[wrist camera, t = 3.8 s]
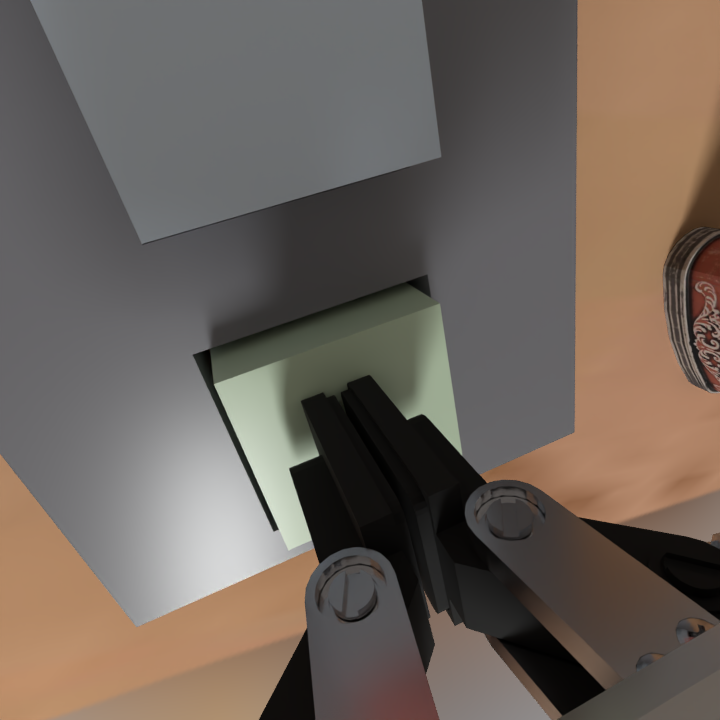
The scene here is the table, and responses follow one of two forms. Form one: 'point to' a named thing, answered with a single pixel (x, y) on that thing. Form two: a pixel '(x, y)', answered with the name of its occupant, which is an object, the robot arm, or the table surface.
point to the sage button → (330, 382)
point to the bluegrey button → (244, 98)
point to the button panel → (273, 298)
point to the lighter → (695, 306)
